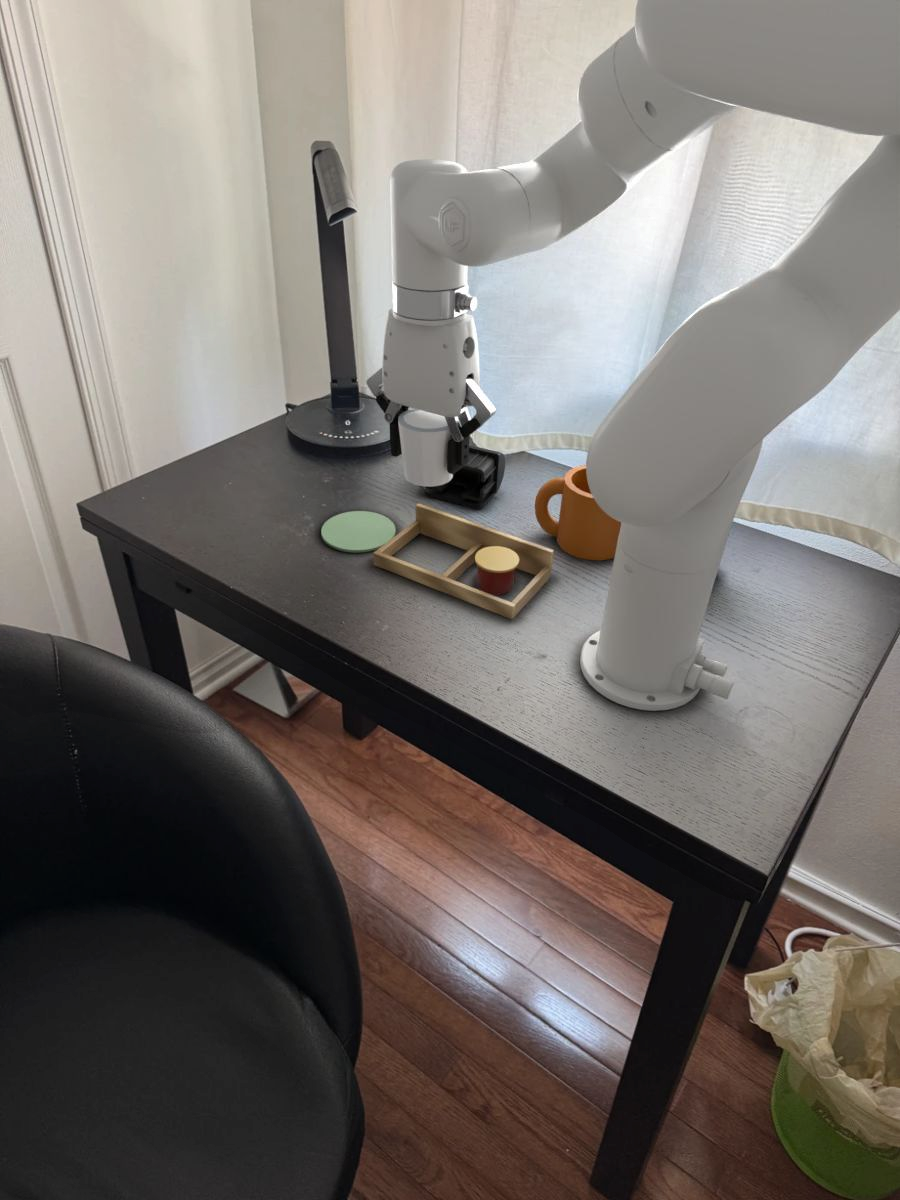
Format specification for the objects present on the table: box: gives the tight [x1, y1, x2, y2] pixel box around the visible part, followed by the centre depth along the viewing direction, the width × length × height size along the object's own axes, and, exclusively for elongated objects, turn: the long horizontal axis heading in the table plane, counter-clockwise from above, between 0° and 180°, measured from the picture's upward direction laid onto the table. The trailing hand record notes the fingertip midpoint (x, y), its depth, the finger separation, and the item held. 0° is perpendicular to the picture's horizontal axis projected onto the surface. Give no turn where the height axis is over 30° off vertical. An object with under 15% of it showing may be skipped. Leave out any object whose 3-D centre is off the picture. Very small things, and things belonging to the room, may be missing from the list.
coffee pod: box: [474, 546, 519, 595], centre depth 94 cm, size 5×5×4 cm
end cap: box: [423, 444, 506, 510], centre depth 110 cm, size 10×7×7 cm
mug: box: [534, 464, 621, 561], centre depth 101 cm, size 9×12×9 cm
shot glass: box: [398, 408, 459, 487], centre depth 90 cm, size 7×7×7 cm
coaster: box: [320, 510, 397, 554], centre depth 103 cm, size 10×10×1 cm
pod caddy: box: [372, 503, 555, 620], centre depth 95 cm, size 19×10×4 cm, turn 59°
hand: (428, 459), depth 90 cm, fingers closed on shot glass, 6 cm apart
